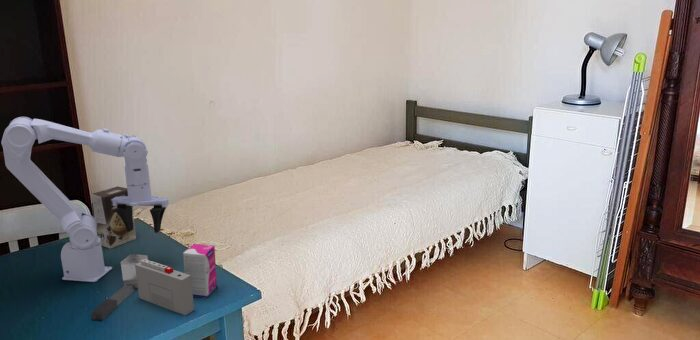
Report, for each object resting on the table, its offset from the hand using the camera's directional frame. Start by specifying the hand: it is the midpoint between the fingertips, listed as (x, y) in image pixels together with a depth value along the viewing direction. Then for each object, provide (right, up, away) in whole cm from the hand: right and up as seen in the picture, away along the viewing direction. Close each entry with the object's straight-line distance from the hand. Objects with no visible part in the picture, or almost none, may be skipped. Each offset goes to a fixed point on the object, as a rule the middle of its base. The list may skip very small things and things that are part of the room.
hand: (144, 230), depth 147 cm
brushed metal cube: (+1, -11, -8) cm, 14 cm away
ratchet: (0, -15, -15) cm, 21 cm away
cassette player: (+12, -16, -17) cm, 26 cm away
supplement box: (+19, -14, -12) cm, 26 cm away
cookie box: (-15, -5, +18) cm, 24 cm away
